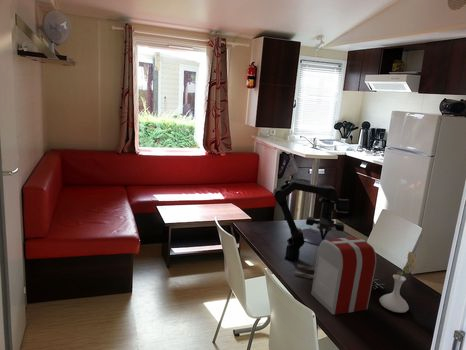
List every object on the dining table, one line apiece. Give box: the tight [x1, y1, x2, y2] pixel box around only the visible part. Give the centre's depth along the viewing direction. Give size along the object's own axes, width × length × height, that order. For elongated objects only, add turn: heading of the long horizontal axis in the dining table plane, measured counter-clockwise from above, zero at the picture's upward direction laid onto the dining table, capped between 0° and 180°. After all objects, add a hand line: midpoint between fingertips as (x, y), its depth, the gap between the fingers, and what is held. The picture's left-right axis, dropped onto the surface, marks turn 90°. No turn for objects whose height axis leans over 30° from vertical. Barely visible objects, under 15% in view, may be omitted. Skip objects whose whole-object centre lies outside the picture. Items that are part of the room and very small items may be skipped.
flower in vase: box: [379, 250, 419, 314], centre depth 152 cm, size 13×11×25 cm
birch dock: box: [293, 263, 315, 280], centre depth 175 cm, size 23×12×5 cm, turn 72°
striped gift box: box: [310, 237, 377, 315], centre depth 153 cm, size 17×18×27 cm
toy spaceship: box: [297, 226, 337, 247], centre depth 225 cm, size 28×24×3 cm
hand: (322, 239), depth 190 cm, fingers closed
